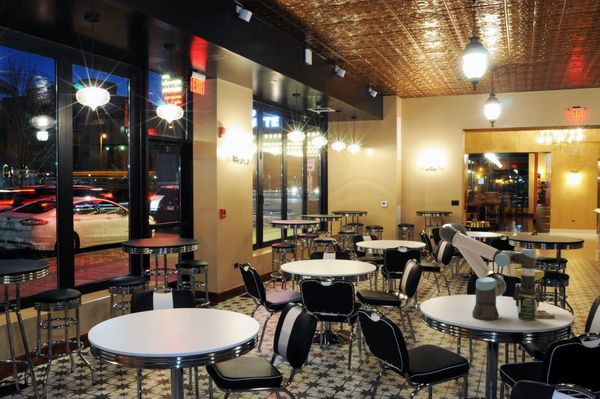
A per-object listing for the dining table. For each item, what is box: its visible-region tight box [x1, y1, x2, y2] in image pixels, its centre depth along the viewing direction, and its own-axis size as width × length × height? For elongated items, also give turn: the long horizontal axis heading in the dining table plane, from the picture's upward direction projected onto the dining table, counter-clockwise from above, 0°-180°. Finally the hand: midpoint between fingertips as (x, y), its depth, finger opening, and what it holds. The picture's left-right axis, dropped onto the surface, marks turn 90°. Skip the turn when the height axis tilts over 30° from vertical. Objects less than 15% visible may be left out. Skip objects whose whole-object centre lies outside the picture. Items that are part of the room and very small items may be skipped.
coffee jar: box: [517, 287, 537, 321], centre depth 304 cm, size 10×8×19 cm
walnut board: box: [535, 309, 556, 319], centre depth 313 cm, size 13×13×2 cm
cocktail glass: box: [514, 267, 545, 282], centre depth 336 cm, size 18×18×25 cm
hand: (527, 312), depth 305 cm, fingers closed on coffee jar, 9 cm apart
